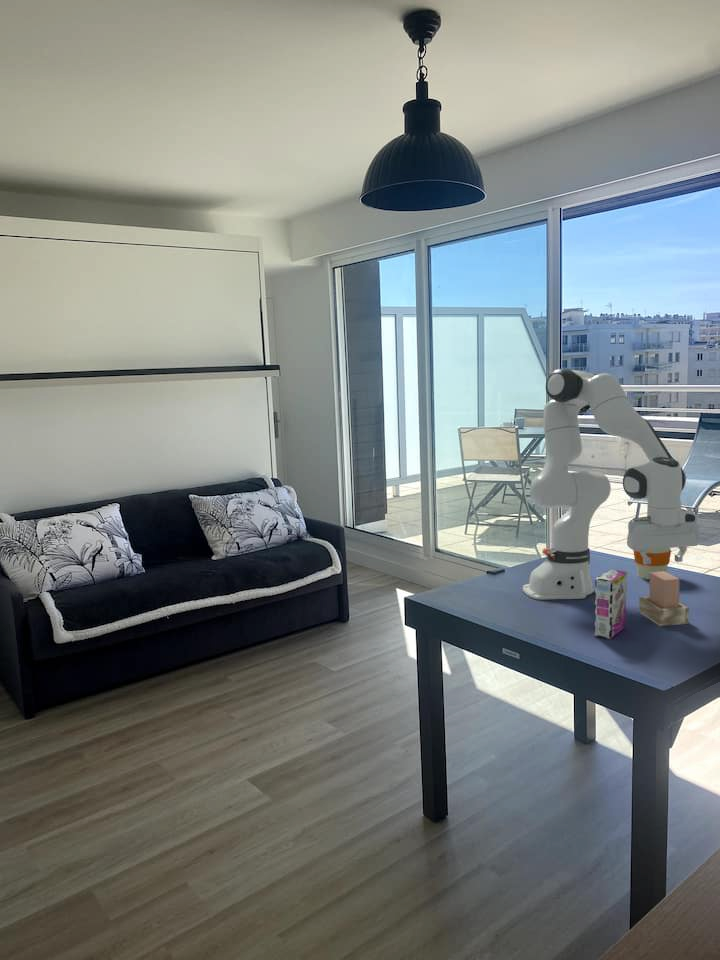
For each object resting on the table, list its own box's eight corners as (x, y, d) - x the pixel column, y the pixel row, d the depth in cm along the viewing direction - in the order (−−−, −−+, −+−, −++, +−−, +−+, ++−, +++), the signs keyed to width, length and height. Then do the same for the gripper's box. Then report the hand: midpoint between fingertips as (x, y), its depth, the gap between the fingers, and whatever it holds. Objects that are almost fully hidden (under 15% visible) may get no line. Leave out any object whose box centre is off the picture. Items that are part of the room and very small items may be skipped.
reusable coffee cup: (634, 581, 245) (634, 537, 243) (630, 570, 257) (630, 529, 255) (674, 581, 242) (675, 537, 240) (668, 571, 254) (668, 529, 252)
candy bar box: (612, 640, 195) (612, 581, 193) (593, 636, 198) (593, 578, 196) (627, 627, 204) (627, 570, 201) (609, 624, 207) (609, 568, 204)
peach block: (664, 621, 205) (664, 580, 204) (649, 612, 213) (649, 572, 211) (678, 619, 206) (679, 578, 204) (663, 610, 214) (663, 571, 212)
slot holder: (659, 626, 204) (660, 610, 203) (639, 612, 215) (639, 597, 215) (688, 623, 204) (688, 607, 204) (666, 609, 216) (666, 594, 215)
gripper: (633, 520, 201) (632, 568, 204) (704, 515, 203) (702, 563, 206) (623, 515, 207) (622, 562, 210) (691, 510, 209) (690, 557, 212)
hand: (662, 562), depth 208 cm, fingers open, 8 cm apart
